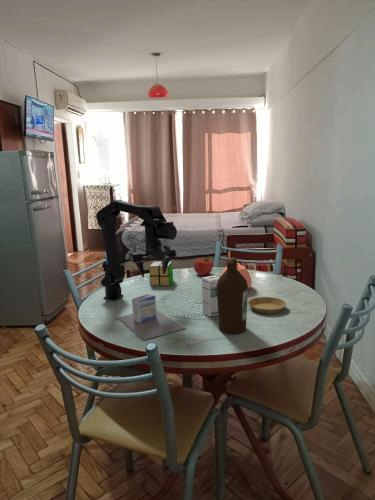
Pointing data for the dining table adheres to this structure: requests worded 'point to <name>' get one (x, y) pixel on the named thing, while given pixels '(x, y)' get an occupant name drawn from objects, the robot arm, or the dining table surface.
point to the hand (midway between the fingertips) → (153, 275)
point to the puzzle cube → (160, 274)
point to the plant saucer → (267, 304)
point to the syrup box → (210, 295)
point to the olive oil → (232, 299)
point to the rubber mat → (151, 326)
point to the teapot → (243, 272)
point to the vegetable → (203, 266)
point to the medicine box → (144, 308)
